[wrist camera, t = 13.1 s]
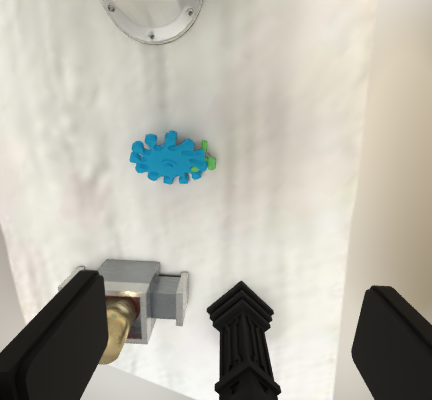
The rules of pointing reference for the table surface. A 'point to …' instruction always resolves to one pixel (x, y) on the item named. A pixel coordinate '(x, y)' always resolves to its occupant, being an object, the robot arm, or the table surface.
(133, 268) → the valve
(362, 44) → the table surface
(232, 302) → the chess piece
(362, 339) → the robot arm
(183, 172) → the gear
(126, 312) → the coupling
